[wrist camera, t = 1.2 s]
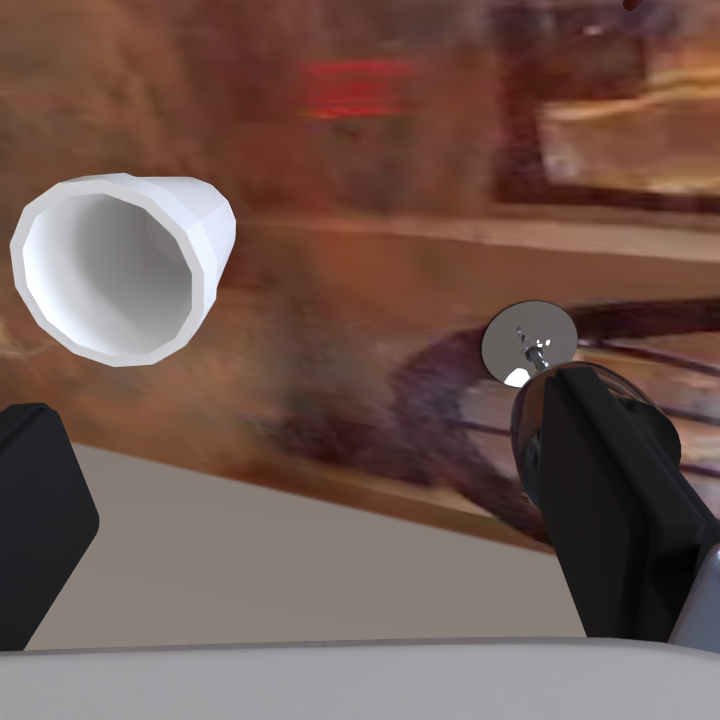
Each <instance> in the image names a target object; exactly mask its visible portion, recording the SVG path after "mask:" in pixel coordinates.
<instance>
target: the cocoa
mask: <svg viewBox="0 0 720 720" xmlns="http://www.w3.org/2000/svg"><path fill="white" fill-rule="evenodd" d="M642 1H643V0H624V1H623V6H624V7H625V9H626V10H628V11H631V10H633V9H634V8H636V7H637V6H638V5H639V4H640V3H641V2H642Z"/></svg>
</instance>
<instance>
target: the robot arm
mask: <svg viewBox="0 0 720 720" xmlns="http://www.w3.org/2000/svg"><path fill="white" fill-rule="evenodd" d="M538 501H539V507H540V511H541V514H542V517H543V520H544V522H545V525H546V528H547V531H548V533H549V536H550V539H551V541H552V544H553V547H554V549H555V552H556V555H557V557H558V560H559V563H560V565H561V568H562V571H563V573H564V576H565V579H566V582H567V584H568V587H569V590H570V592H571V595H572V598H573V600H574V603H575V606H576V609H577V611H578V614H579V617H580V619H581V622H582V625H583V627H584V630H585V633H586V636H587V637H586V638H585V637H582V638H581V637H475V638H474V637H471V638H414V639H377V640H342V641H341V640H340V641H302V642H265V643H234V644H203V645H171V646H145V647H144V646H141V647H113V648H112V647H111V648H81V649H55V650H28V651H23V649H24V648H25V647H26V645H27V644H28V642H29V640H30V639H31V637H32V636H33V634H34V632H35V631H36V629H37V628H38V626H39V625H40V623H41V621H42V620H43V618H44V617H45V615H46V613H47V612H48V610H49V609H50V607H51V605H52V604H53V602H54V600H55V599H56V597H57V596H58V594H59V592H60V591H61V589H62V588H63V586H64V585H65V583H66V581H67V580H68V578H69V577H70V575H71V574H72V572H73V570H74V569H75V567H76V566H77V564H78V563H79V561H80V559H81V558H82V556H83V555H84V553H85V551H86V550H87V548H88V547H89V545H90V544H91V542H92V540H93V539H94V537H95V536H96V534H97V531H98V528H99V515H98V512H97V509H96V507H95V504H94V502H93V499H92V497H91V494H90V492H89V489H88V486H87V484H86V481H85V479H84V477H83V474H82V471H81V469H80V466H79V464H78V461H77V459H76V456H75V454H74V451H73V449H72V446H71V443H70V441H69V438H68V436H67V433H66V431H65V428H64V426H63V423H62V421H61V418H60V416H59V414H58V413H57V412H56V411H55V410H53V409H51V408H50V407H49V406H48V405H47V404H45V403H29V404H15V405H10V406H9V407H7V408H6V409H5V410H4V411H2V412H1V413H0V720H720V523H719V522H718V521H717V519H716V518H715V517H714V515H713V514H712V513H711V511H710V510H709V509H708V508H707V506H706V505H705V504H704V502H703V501H702V500H701V498H700V497H699V496H698V494H697V493H696V492H695V491H694V489H693V488H692V487H691V485H690V484H689V483H688V481H687V480H686V479H685V478H684V476H683V475H682V474H681V472H680V471H679V470H678V468H677V467H676V466H675V465H674V463H673V462H672V461H671V459H670V458H669V457H668V455H667V454H666V453H665V451H664V450H663V449H662V448H661V446H660V445H659V444H658V442H657V441H656V440H655V439H654V438H653V437H652V436H651V435H648V434H641V433H640V432H639V430H638V429H637V428H636V426H635V425H634V423H633V422H632V421H631V419H630V418H629V417H628V415H627V414H626V413H625V411H624V410H623V409H622V407H621V406H620V405H619V403H618V402H617V400H616V399H615V398H614V396H613V395H612V394H611V392H610V391H609V390H608V388H607V387H606V386H605V384H604V383H603V382H602V380H601V379H600V378H599V376H598V375H597V373H596V372H595V371H594V369H593V368H592V367H591V366H585V367H570V368H558V369H557V370H556V373H555V376H552V377H547V378H546V380H545V385H544V402H543V418H542V434H541V450H540V467H539V483H538Z"/></svg>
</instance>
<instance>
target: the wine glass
mask: <svg viewBox="0 0 720 720" xmlns="http://www.w3.org/2000/svg"><path fill="white" fill-rule="evenodd" d="M577 340H578V338H577V330H576V327H575V324H574V322H573V321H572V319H571V317H570V316H569V315H568V314H567V313H566V312H565V311H564V310H563V309H561V308H560V307H558V306H556V305H554V304H552V303H548V302H544V301H525V302H521V303H517V304H515V305H512V306H510V307H508V308H507V309H505V310H503V311H502V312H501V313H499V314H498V315H497V316H496V317H495V318H494V319H493V320H492V321H491V323H490V324H489V326H488V327H487V329H486V331H485V333H484V336H483V339H482V344H481V353H482V358H483V361H484V364H485V366H486V368H487V369H488V371H489V372H490V373H491V374H492V375H493V376H494V377H495V378H496V379H498V380H499V381H501V382H503V383H505V384H508V385H511V386H515V387H521V389H520V390H519V392H518V393H517V396H516V398H515V400H514V403H513V407H512V411H511V419H510V438H511V447H512V452H513V457H514V460H515V464H516V468H517V471H518V473H519V476H520V479H521V481H522V484H523V486H524V488H525V491H526V493H527V495H528V496H529V498H530V499H531V501H532V502H533V503H534V504H535V505H536V506H537V507H538V508H539V509H540V507H539V501H538V483H539V467H540V450H541V434H542V418H543V402H544V385H545V380H546V378H547V377H552V376H555V373H556V370H557V369H558V368H570V367H585V366H591V367H592V368H593V369H594V371H595V372H596V373H597V375H598V376H599V378H600V379H601V380H602V382H603V383H604V384H605V386H606V387H607V388H608V390H609V391H610V392H611V394H612V395H613V396H614V398H615V399H616V400H617V402H618V403H619V405H620V406H621V407H622V409H623V410H624V411H625V413H626V414H627V415H628V417H629V418H630V419H631V421H632V422H633V423H634V425H635V426H636V428H637V429H638V430H639V432H640V433H641V434H648V435H651V436H652V437H653V438H654V439H655V440H656V441H657V442H658V444H659V445H660V446H661V448H662V449H663V450H664V451H665V453H666V454H667V455H668V457H669V458H670V459H671V461H672V462H673V463H674V465H675V466H676V467H677V468H679V464H680V459H681V443H680V439H679V436H678V433H677V431H676V429H675V427H674V425H673V424H672V422H671V421H670V420H669V418H668V417H667V416H666V415H665V414H664V413H663V411H662V410H661V409H660V408H659V407H658V406H657V405H656V404H655V402H654V401H653V400H652V399H651V398H650V397H648V396H647V395H646V394H645V393H644V392H643V391H642V390H641V389H640V388H638V387H637V386H636V385H634V384H633V383H632V382H630V381H629V380H627V379H626V378H624V377H623V376H622V375H620V374H618V373H616V372H614V371H612V370H610V369H608V368H606V367H604V366H601V365H598V364H594V363H590V362H586V361H572V359H573V356H574V354H575V351H576V348H577Z"/></svg>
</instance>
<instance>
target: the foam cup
mask: <svg viewBox="0 0 720 720" xmlns="http://www.w3.org/2000/svg"><path fill="white" fill-rule="evenodd" d="M235 228H236V220H235V217H234V215H233V212H232V210H231V208H230V205H229V203H228V200H227V199H226V198H225V197H224V196H223V195H222V194H221V193H220V192H219V191H217V190H216V189H215V188H214V187H213V186H212V185H211V184H208V183H206V182H203V181H200V180H198V179H195V178H193V177H134V176H132V175H129V174H127V173H116V174H105V175H93V176H82V177H79V178H75V179H71V180H68V181H64V182H60V183H57V184H56V185H55V186H53V187H52V188H50V189H49V190H48V191H46V192H45V193H43V194H42V195H41V196H39V197H38V198H36V199H35V200H34V201H32V202H31V203H30V204H28V205H27V206H25V207H24V209H23V212H22V215H21V217H20V220H19V222H18V225H17V227H16V230H15V233H14V235H13V238H12V240H11V243H10V251H11V258H12V266H13V273H14V281H15V287H16V289H17V291H18V292H19V294H20V296H21V297H22V299H23V301H24V302H25V304H26V305H27V307H28V309H29V310H30V312H31V314H32V315H33V317H34V319H35V320H36V322H37V324H38V325H39V326H40V327H41V328H42V329H44V330H45V331H46V332H47V333H49V334H50V335H51V336H52V337H54V338H55V339H56V340H57V341H59V342H60V343H61V344H62V345H64V346H65V347H66V348H67V349H69V350H70V351H71V352H72V353H74V354H77V355H80V356H83V357H86V358H89V359H92V360H95V361H98V362H101V363H104V364H107V365H110V366H113V367H119V366H136V365H152V364H155V363H156V362H158V361H160V360H162V359H163V358H165V357H167V356H169V355H170V354H172V353H174V352H175V351H177V350H179V349H181V348H182V347H184V346H185V345H186V344H187V343H188V341H189V340H190V339H191V338H192V336H193V335H194V334H195V332H196V331H197V330H198V329H199V327H200V325H201V323H202V322H203V320H204V318H205V317H206V315H207V313H208V311H209V310H210V308H211V306H212V305H213V303H214V301H215V300H216V287H217V285H218V282H219V280H220V277H221V275H222V272H223V270H224V267H225V265H226V262H227V260H228V257H229V255H230V252H231V250H232V247H233V245H234V241H235Z"/></svg>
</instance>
